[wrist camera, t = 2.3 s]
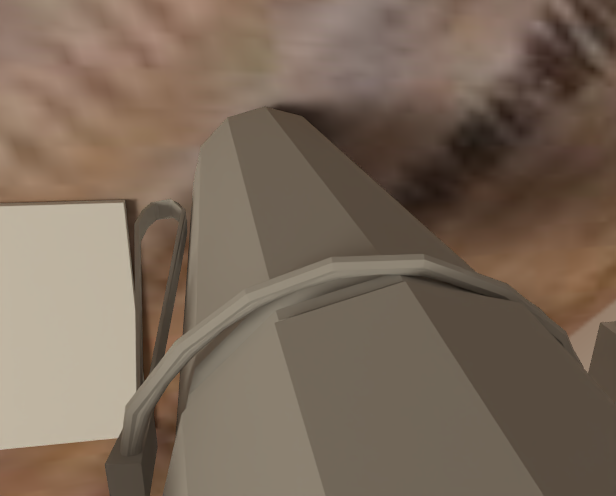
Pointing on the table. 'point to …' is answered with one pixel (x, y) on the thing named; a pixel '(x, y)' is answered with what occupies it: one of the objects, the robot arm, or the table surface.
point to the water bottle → (347, 346)
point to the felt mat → (65, 322)
